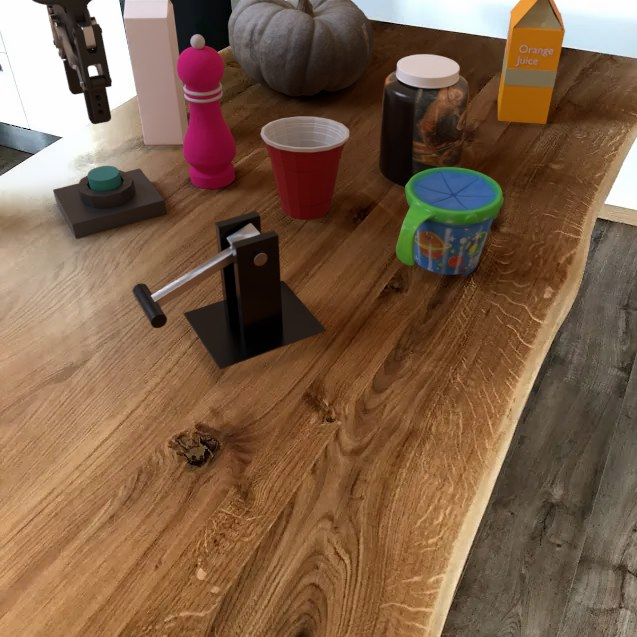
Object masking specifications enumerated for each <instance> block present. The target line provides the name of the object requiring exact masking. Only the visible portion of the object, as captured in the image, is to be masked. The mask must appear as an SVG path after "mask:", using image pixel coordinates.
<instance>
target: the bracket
mask: <svg viewBox="0 0 637 637" xmlns="http://www.w3.org/2000/svg"><path fill="white" fill-rule="evenodd" d="M250 223H251V224H252V225H253V226H254V227H255V228H256V229H257V230H258V231H259V233H260V234H259V235H256V236H253V237H249V238H246V239H243V240H239V241H236V242H232V251H233V261H234V262H232V263H231V264H229V265H228V266H226V267H224V268H223V269H221V270H220V271H219V272H220V280H221V289H222V298H223V300H222V299H221V300H219V301H217V302H214V303H210V304H207V305H204V306H201V307H198V308H195V309H192V310H189V311H186V312H183V316H184V317H185V319H186V320H187V322H188V323H189V325H190V326H191V328H192V329H193V331H194V332H195V335H197V337H198V339H199V340H200V342H201V343H202V344H203V346H204V347H205V349H206V351H207V352H208V354H209V355H210V357H211V358H212V360H213V361H214V363H215V364H216V366H217V367H218V369H219V370H223V369H226V368H229V367H231V366H234V365H238V364H239V363H242V362H244V361H248V360H250V359H253V358H255V357H258V356H261V355H264V354H267V353H269V352H272V351H275V350H277V349H281V348H283V347H286V346H289V345H291V344H294V343H296V342H300V341H303V340H306V339H308V338H310V337H313V336H316V335H319V334H321V333H324V332H326V331H327V329H326V328H325V327H324V326H323V324H322V323H321V322H320V321H319V319H317V318H316V316H315V315H314V314H313V313H312V312H311V310H309V309H308V307H307V306H306V305H305V304H304V302H303V301H302V300H301V299H300V298H299V297H298V296H297V295H296V293H294V291H293V290H292V289H291V287H290V286H289V285H288V284H287V283H286V282H285V281H284V280H282V279H281V264H280V263H281V258H280V241H279V240H280V239H279V237H280V236H279V234H278V233H277V231H275V230H274V229H273V230H269V231H266V232H262V224H261V214H260V213H259V212H258V211H257V210H254V211H251V212H247V213H244V214H241V215H238V216H234V217H230V218H225V219H222V220H219V221H216V222H214V228H215V237H216V245H217V246H216V247H217V254H219V253H220V252H222V251H224V250H225V249H227V248H229V247H230V244H229V242H228V240H227V237H228V236H230V235H232V234H233V233H235V232H237V231H238V230H240V229H241V228H243V227H245V226H246V225H248V224H250Z"/></svg>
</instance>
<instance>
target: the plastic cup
mask: <svg viewBox="0 0 637 637" xmlns="http://www.w3.org/2000/svg"><path fill="white" fill-rule="evenodd" d="M260 137H261V139H262V140H263V141H264V144H265V145H266V150H267V152H268V157H269V159H270V164H271V168H272V172H273V176H274V182H275V185H276V190H277V195H278V197H279V201H280V204H281V209H282V211H283V212H284V214H285V215H286V216H288V217H291V218H292V219H297V220H306V221H311V220H315V219H320V218H322V217H324V216H325V215H327V213H328V212H330V210H331V205H332V204H331V203H332V198H333V197H334V191H335V186H336V182H337V176H338V170H339V166H340V160H341V159H342V154H343V151H344V149H345V148H344V147H345V145H346V142H347V141H348V140H349V138H350V129H349V128H348V127H347V126H346V125H344V124H343V123H341V122H339V121H336V120H333V119H330V118H324V117H320V116H301V115H300V116H292V117H291V116H290V117H283V118H279V119H275V120H273V121H270V122H268V123H267V124H265V125H264V126H262V128H261V131H260Z"/></svg>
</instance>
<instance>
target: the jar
mask: <svg viewBox="0 0 637 637" xmlns="http://www.w3.org/2000/svg"><path fill="white" fill-rule="evenodd" d="M460 68H461V66H460V65H459V64H458V63H457V61H455V60H453V59H451V58H449V57H446V56H442V55H437V54H428V53H427V54H424V53H423V54H422V53H421V54H420V53H419V54H412V55H411V54H410V55H409V56H408V55H407V56H405V57H402V58H400V59H399V60H398V61H397V62H396V70H394V71H393V72H391V73H390V74H388V75H387V76H386V78H385V79H384V82H383V83H384V84H383V90H382V100H381V114H380V115H381V116H380V132H379V134H380V135H379V154H378V155H379V157H378V167H379V171H380V173H381V174H382V175H383V176H384V178H386V179H388V180H389V181H391V182H393V183H394V184H397V185H400V186H404V187H405V186H406V184H407V183H408V182H409V180H410V179H411V178H412V177H413V176H414V175H416V174H417V173H419V172H422V171H424V170H428V169H433V168H440V167H456V168H461V167H462V166H461V165H462V158H463V150H464V144H465V135H466V129H467V128H466V127H467V119H468V110H469V101H470V100H469V99H470V85H469V82H468V81H467V80H466V78H465V77H464V76H462V75H460V70H461V69H460Z"/></svg>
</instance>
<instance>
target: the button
mask: <svg viewBox="0 0 637 637" xmlns="http://www.w3.org/2000/svg"><path fill="white" fill-rule="evenodd" d="M119 170H120V169H119V168H117V167H115V166H112V165H101V166H96V167H94V168H92V169H91V170H89V171H88V172H87V175H86V176H88V180H89V185H90V188H91V190H94V191H110V190H114V189H116V188H118V187H119V186H121V184H122V182H121V177H120V172H119Z"/></svg>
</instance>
